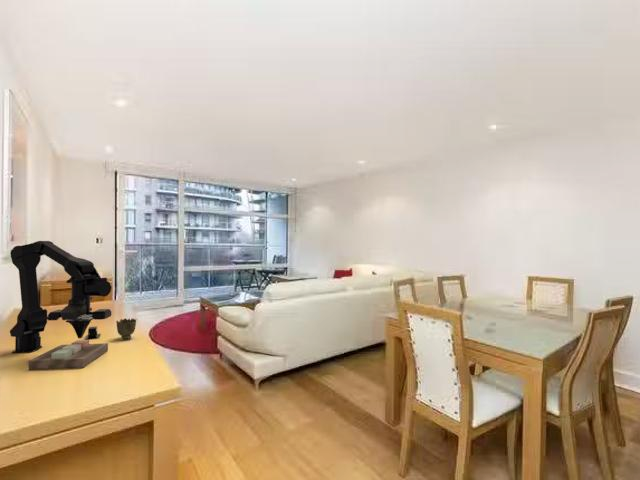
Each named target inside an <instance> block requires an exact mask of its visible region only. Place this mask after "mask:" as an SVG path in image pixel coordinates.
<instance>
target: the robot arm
mask: <svg viewBox="0 0 640 480" xmlns="http://www.w3.org/2000/svg"><path fill="white" fill-rule="evenodd" d="M9 253H10V258H11V262H12V264H13V265H14V266H15V267H16V269H17V270H18V277H19V289H20V296H21V297H20V298H21V308H20V309H21V310H20V311H19V312H18V314H17V317H16V318H17V319H16V323H15V325H14V326H13V327H12V328H10V330H9V334H10V337H14V338H15V343H14V344H15V345H14V346H15V348H14V349H15V350H12V351H11V354H19V353H32V352H35V351H36V350H39V349H41V348H43V345H42V343H41V342H42V341H41V340H42V339H41V338H42V336H40V333H41V332H44V331H45V328H46V326H47V324H48V321H58V320H59V319H60V318H61V320H62V321H65V323H69V324H70V325H71V326H72V328H73V329H74V332H75V334H76V336H77V339H82V338H83V336H84V335H85V334H86V333H85V332H86V331H87V328H89V327H88V326H89V325H90V324H91V322H92V321H93V320H97V321H98V320H106V319H108V318H110V317H112V310H111V309H110V308H100V309H97V310H94V311H93V308H92V307H91V300H93V297H108V296H109V295H110V294H111V291H112V285H111V282H110V281H108V278H107V277H101V276H100V273H99V272H98V270H97V269H96V267H95V265H94V263H93V262H92V261H90V260H88V259H85V258H81V257H76V256H74V255H73V254H71V253H69V252H67V251H66V250H64V249H62V248H61V247H59V246H58V245H55V244H54V242H52V241H50V240H37V241H35V242H32V243H27V244H22V245H14V247H13V248H12V249H10V252H9ZM43 256H46V257H47V258H49V259H50V260H52V261H54V262H55V263H57V264H58V265H60V266H62V267H63V269H64V272H65V273H67V274H68V276H70V277H69V278H68V279H67V280H66V282H65V284H66V283H67V284H71V285H70V286H71V292H70V295H71V297H70V299H68V305H65V307H64V308H63V309H56V310H53V311H50V312H49V313H48V309H47V308H43V307H41V305H40V297H39V288H38V277H37V276H38V274H37V267H38V265H39V264H40V263H41V261H42V259H41V257H43Z"/></svg>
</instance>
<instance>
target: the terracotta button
mask: <svg viewBox="0 0 640 480" xmlns="http://www.w3.org/2000/svg"><path fill="white" fill-rule="evenodd" d="M70 344H71V345H74V344H81V348H85V347H87V346H89V344H90V340H84V339H76V340H74V341H73V342H71V343H70Z"/></svg>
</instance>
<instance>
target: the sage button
mask: <svg viewBox="0 0 640 480" xmlns="http://www.w3.org/2000/svg"><path fill="white" fill-rule="evenodd" d="M71 355H72V349H63V350H57V351H55V352H54V353H52V355H51V359H66V358H68V357H69V356H71Z"/></svg>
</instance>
